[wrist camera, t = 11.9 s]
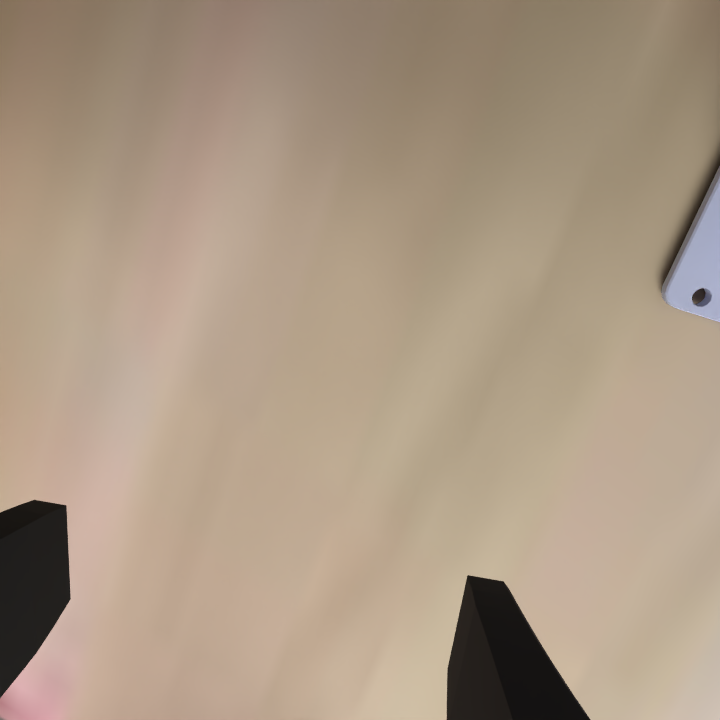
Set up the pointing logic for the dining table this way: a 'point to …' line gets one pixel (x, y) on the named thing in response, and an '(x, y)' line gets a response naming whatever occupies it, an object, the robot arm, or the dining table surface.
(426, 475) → the dining table surface
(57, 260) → the dining table surface
